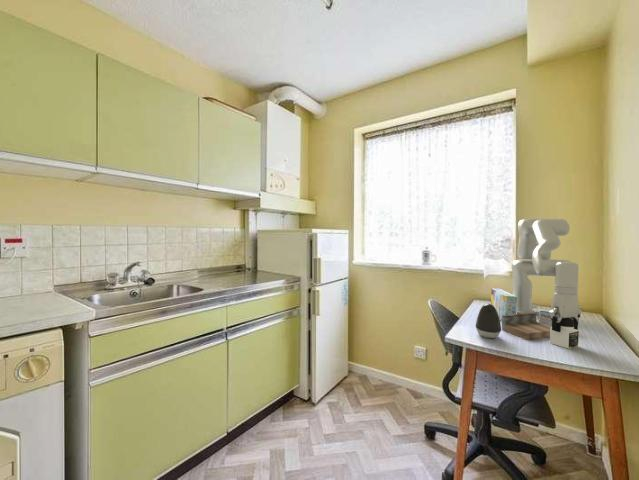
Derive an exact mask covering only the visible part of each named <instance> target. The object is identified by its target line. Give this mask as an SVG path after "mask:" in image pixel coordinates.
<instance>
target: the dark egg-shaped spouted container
mask: <svg viewBox="0 0 639 480" xmlns="http://www.w3.org/2000/svg"><path fill="white" fill-rule="evenodd" d="M475 328H476V331H477V333H478V335H480V336H481V337H483V338H487V339H495V338H497V337H498V336H499V335H500V333H501V331H502V323H501V320H500V319H499V315H498V312H497V310H496V308H495V307H494V306H493V305H491V303H485V304H483V305H482V306H481V307H480V309H479V312H478V314H477V317H476V320H475Z"/></svg>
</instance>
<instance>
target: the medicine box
mask: <svg viewBox="0 0 639 480" xmlns="http://www.w3.org/2000/svg"><path fill="white" fill-rule="evenodd" d="M549 311H551V309H550V310H549V309H542V308H541V309H539V321H538V322H539V323H542V324H545V325H549V326H552V321H551V318H550V315H549Z"/></svg>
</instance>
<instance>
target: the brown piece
mask: <svg viewBox="0 0 639 480" xmlns="http://www.w3.org/2000/svg"><path fill="white" fill-rule="evenodd" d="M537 315H538V314H537V312H535V311H534V312H532V313H521V314H520V313H516V314H510V315H502V321H501V331H504V332H507V333H509V334H511V335H514V336H517V337H520V338H522V339H525V340H527V341H530V340H539V339H547V338H549V339H550V328H551V327H552V326H549V325H545V324H542V323H539V321H537Z"/></svg>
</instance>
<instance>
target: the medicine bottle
mask: <svg viewBox="0 0 639 480" xmlns="http://www.w3.org/2000/svg"><path fill="white" fill-rule="evenodd" d="M556 318H557V319H558V317H556ZM559 323H561V332H557V331H553V330H552V327H551V328H550V337H549V344H552V345H554V346H557V347H561V348H564V349H567V350H570V349H574V348H577V347H579V336H580V334H579V332H580V331H579V329H578V330H576V329H574V320H573V319H572V318H562V319H561V321H560V322H559Z"/></svg>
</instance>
